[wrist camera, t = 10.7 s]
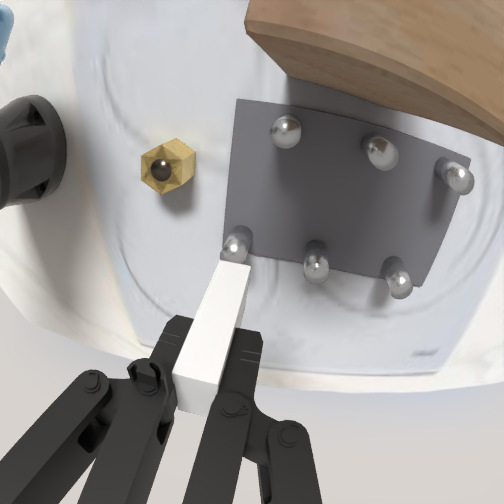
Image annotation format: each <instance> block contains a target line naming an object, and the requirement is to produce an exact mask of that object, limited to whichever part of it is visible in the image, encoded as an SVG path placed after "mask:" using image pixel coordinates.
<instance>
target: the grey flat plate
mask: <svg viewBox="0 0 504 504" xmlns="http://www.w3.org/2000/svg"><path fill="white" fill-rule="evenodd" d="M287 114H289V115H293V116H295V117H297V118H298V119H299V121H300V123H301V127H302V128H301V137H300V140H299V142H298V143H297V144H296V145H295V146H294V147H291V148H287V149H285V148H280V147H278V146H276V145H275V144H274V143H273V142H272V140H271V138H270V128H271V126H272V124H273V123H274V122H275V121H276V120H277V119H278V118H279V117H281V116H283V115H287ZM370 133H375V134H378V135H379V136H381V137H383V138H384V139H386V140H387V141H389V142H390V143H392V144H393V145H394V146H395V147H396V148H397V150H398V154H399V159H398V162H397V164H396V165H395V167H394V168H392V169H390V170H386V171H384V170H380V169H378V168H376V167H375V166H374V165H373V164H372V163H371V161H370V160H369V159H368V158H367V157H366V156H365V155H364V153H363V152H362V150H361V140H362V139H363V137H364V136H365V135H367V134H370ZM441 157H447V158H449V159H451V160H453V161H454V162H456V163H458V164H459V165H461V166H463V167H464V168H466V169H467V170H468V169H469V165H470V162H471V159H470V158H468V157H465V156H463V155H461V154H458V153H456V152H453V151H451V150H448V149H446V148H443V147H441V146H438V145H435V144H433V143H430V142H427V141H424V140H422V139H419V138H416V137H413V136H410V135H407V134H404V133H401V132H398V131H394V130H391V129H388V128H384V127H381V126H378V125H374V124H370V123H367V122H363V121H359V120H355V119H351V118H347V117H343V116H339V115H334V114H330V113H325V112H320V111H315V110H310V109H305V108H299V107H294V106H288V105H282V104H275V103H268V102H261V101H253V100H244V99H237V102H236V110H235V119H234V128H233V137H232V147H231V156H230V166H229V177H228V187H227V198H226V209H225V221H224V233H223V245H222V248H223V246H224V244H225V243H226V241H227V239H228V237H229V235H230V233H231V231H232V229H233V228H234V227H235V226H238V225H244V226H246V227H248V228H249V229H250V230H251V231H252V233H253V239H252V242H251V245H250V247H249V250H248V253H252V254H257V255H262V256H267V257H272V258H277V259H283V260H288V261H293V262H298V263H303V264H304V255H305V246H306V244H307V243H308V242H309V241H311V240H321V241H323V242H324V243H325V244H326V246H327V253H328V264H329V269H334V270H340V271H345V272H350V273H355V274H360V275H366V276H371V277H376V278H381V279H386V277H385V274H384V271H383V267H382V265H383V262H384V261H385V260H386V259H387V258H388V257H390V256H397V257H399V258H400V259H401V260H402V262H403V264H404V267H405V269H406V271H407V273H408V276H409V278H410V280H411V283H412V285H418V286H422V285H423V283H424V281H425V279H426V277H427V275H428V273H429V271H430V268H431V266H432V264H433V262H434V260H435V258H436V255H437V253H438V251H439V248H440V246H441V244H442V241H443V239H444V237H445V234H446V232H447V229H448V227H449V224H450V222H451V219H452V216H453V214H454V211H455V208H456V205H457V203H458V200H459V197H460V195H459V194H457V193H456V192H455V191H454V190H453V189H451V188H450V187H449V186H448V185H446V184H445V183H444V182H443V181H442V180H440V179H439V178H438V177H437V176H436V175H435V172H434V165H435V162H436V161H437V160H438V159H439V158H441Z"/></svg>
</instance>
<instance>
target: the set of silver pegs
mask: <svg viewBox="0 0 504 504" xmlns="http://www.w3.org/2000/svg"><path fill="white" fill-rule="evenodd" d="M301 128H302V127H301V123H300V121H299V119H298V118H297V117H295V116H293V115H289V114H287V115H283V116H281V117H279V118H278V119H277V120H276V121H275V122H274V123H273V124H272V126H271V128H270V138H271V140H272V142H273V143H274V144H275V145H276V146H278V147H280V148H285V149H287V148H291V147H294V146H295V145H296V144H297V143H298V142H299V140H300V137H301ZM361 150H362V152H363V153H364V155H365V156H366V157H367V158H368V159H369V160H370V161H371V163H372V164H373V165H374V166H375V167H376V168H378V169H380V170H384V171H386V170H390V169H392V168H394V167H395V165H396V164H397V162H398V159H399V154H398V150H397V148H396V147H395V146H394V145H393V144H392V143H390V142H389V141H387V140H386V139H384V138H383V137H381V136H379V135H378V134H375V133H370V134H367V135H365V136H364V137H363V139H362V140H361ZM434 172H435V175H436V176H437V177H438V178H439V179H440V180H442V181H443V182H444V183H445V184H446V185H448V186H449V187H450V188H451V189H453V190H454V191H455V192H456V193H457V194H459V195H467V194H469V193H470V192H471V191H472V189H473V187H474V176H473V174H472V173H471V172H470V171H469V170H467V169H466V168H464V167H463V166H461V165H459V164H458V163H456V162H454V161H453V160H451V159H449V158H447V157H441V158H439V159H438V160H437V161H436V162H435V165H434ZM252 239H253V233H252V231H251V230H250V229H249V228H248V227H246V226H244V225H238V226H235V227H234V228H233V229H232V231H231V233H230V235H229V237H228V239H227V241H226V243H225V244H224V246H223V248H222V250H221V252H220V259H221V260H222V261H227V262H232V263H237V264H244V262H245V259H246V256H247V253H248V250H249V247H250V245H251V242H252ZM382 267H383V271H384V274H385V277H386V280H387V283H388V286H389V289H390V292H391V295H392V297H394V298H395V299H404V298H406V297H408V296H409V295H410V294H411V292H412V290H413V285H412V283H411V280H410V278H409V276H408V273H407V271H406V269H405V267H404V264H403V262H402V260H401V259H400V258H399V257H397V256H390V257H388V258H387V259H386V260H385V261H384V262H383V265H382ZM304 277H305V279H306V280H307V281H308V282H309V283H311V284H321V283H324V282H325V281H326V280H327V279H328V277H329V264H328V253H327V246H326V244H325V243H324V242H323V241H321V240H311V241H309V242H308V243H307V244H306V246H305V255H304Z"/></svg>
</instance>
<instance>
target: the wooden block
mask: <svg viewBox="0 0 504 504" xmlns="http://www.w3.org/2000/svg"><path fill="white" fill-rule="evenodd" d="M244 25H245V29H246V34H247V35H248V36H250V37H251V38H252V39H253V40H254V41H255V42H256V43H257V44H258V45H259V46H260V47H261V48H262V49H263V50H264V51H265V52H266V53H267V54H268V55H269V56H270V57H271V58H272V59H273V60H274V61H275V62H276V63H277V65H278V66H279V67H280V68H281V69H282V70H283V71H284V72H285V73H286V74H287V75H288V76H290V77H293V78H297V79H301V80H305V81H308V82H312V83H315V84H319V85H322V86H325V87H329V88H332V89H335V90H338V91H341V92H344V93H347V94H350V95H353V96H356V97H359V98H361V99H364V100H367V101H370V102H372V103H375V104H377V105H380V106H382V107H385V108H388V109H392V110H397V111H401V112H405V113H408V114H412V115H416V116H419V117H423V118H426V119H430V120H433V121H436V122H439V123H442V124H446V125H449V126H452V127H454V128H457V129H460V130H463V131H466V132H468V133H471V134H474V135H476V136H479V137H481V138H484V139H486V140H489V141H491V142H494V143H496V144H498V145H501V146H503V147H504V0H250V1H249V5H248V9H247V12H246V16H245V20H244Z"/></svg>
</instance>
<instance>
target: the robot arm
mask: <svg viewBox="0 0 504 504" xmlns="http://www.w3.org/2000/svg"><path fill="white" fill-rule="evenodd" d="M13 23H14V15H13V12H12V10H11V9H10V8H9V7H7V6H5V5H3V4H0V64H1V62H2V61H3V60H4V59H5V49H6V46H7V43H8V39H9V36H10V33H11V30H12V27H13ZM65 161H66V143H65V136H64V131H63V127H62V124H61V121H60V118H59V116H58V114H57V112H56V110H55V109H54V107H53V106H52V105H51V104H50V103H49V102H48V101H47V100H46V99H45V98H43V97H41V96H38V95H29V96H25V97H21V98H18V99H15V100H13V101H12V102H10V103H9V104H7V105H6V106H5V107H3V108H2V109H0V210H1V209H2V208H4V207H7V206H13V205H19V204H25V203H31V202H36V201H38V200H41V199H42V198H44V197H46V196H47V195H49V194H51V193H52V192H53V191H54V190H55V189H56V188H57V186H58V185H59V183H60V181H61V179H62V176H63V172H64V168H65ZM250 270H251V266H248V265H243V264H237V263H232V262H227V261H222V260H220V261H219V264H218V266H217V268H216V270H215V273H214V275H213V277H212V279H211V282H210V284H209V286H208V289H207V291H206V293H205V295H204V298H203V300H202V302H201V305H200V307H199V309H198V312H197V314H196V316H195V319H192V318H188V317H184V316H180V315H175V316H174V317H173V318H172V319H171V320H169V321H168V322H167V324H166V326H165V328H164V330H163V333H162V334H161V336H160V338H159V341H158V342H157V344H156V346H155V348H154V350H153V352H152V354H151V356H150V358H142V359H137V360H135V361H133V362H132V363H131V364H130V365H129V366H128V367H127V370H128V373H129V376H130V378H129V379H112V378H107V376H106V375H105V374H104V373H103V372H100V371H98V370H88V371H84V372H83V373H82V374H80V375H79V376H78V377H77V378H76V379H75V380H74V381H73V382H72V383H71V384H70V385H69V387H68V388H67V389H66V390H65V391H64V392H63V393H62V394H61V395H60V396H59V397H58V398H57V399H56V400H55V401H54V402H53V403H52V404H51V406H49V408H48V409H47V410H46V411H45V412H44V413H43V414H42V415H41V416H40V417H39V418H38V419H37V421H36V422H35V423H34V424H33V425H32V426H31V427H30V428H29V429H28V430H27V431H26V433H25V434H24V435H23V436H22V437H21V438H20V439H19V440H18V442H17V443H16V444H15V445H14V446H13V447H12V448H11V449H10V451H9V452H8V453H7V454H6V455H5V456H4V457H3V458H2V460H1V461H0V504H59V503H60V501H61V500H62V499H63V498H64V496H65V495H66V494H67V493H68V491H69V490H70V489H71V488H72V487H73V485H74V484H75V483H76V482H77V480H78V479H79V478H80V477H81V475H82V474H83V473H84V472H85V470H86V469H87V468H88V467H89V465H90V464H91V463H92V462H93V461H94V459H95V458H96V460H95V462H94V464H93V466H92V469H91V471H90V473H89V476H88V478H87V481H86V483H85V485H84V488H83V490H82V493H81V495H80V498H79V500H78V503H77V504H146V503H147V500H148V497H149V494H150V491H151V488H152V485H153V482H154V479H155V476H156V473H157V470H158V467H159V464H160V461H161V458H162V455H163V452H164V450H165V446H166V444H167V441H168V438H169V435H170V432H171V429H172V426H173V423H174V412H175V409H176V406H178V409H179V410H181V411H185V412H189V413H193V414H197V415H201V416H205V417H207V421H206V424H205V427H204V431H203V434H202V438H201V442H200V445H199V448H198V452H197V455H196V459H195V462H194V465H193V469H192V472H191V476H190V479H189V483H188V486H187V489H186V493H185V496H184V500H183V503H182V504H232V502H233V498H234V494H235V489H236V484H237V480H238V475H239V470H240V466H241V461H242V456H243V457H245V458H246V459H248V460H250V461H252V462H254V463H257V468H258V477H259V487H260V496H261V504H322V499H321V494H320V489H319V484H318V479H317V473H316V469H315V464H314V459H313V453H312V449H311V444H310V439H309V434H308V432H307V430H306V428H305V427H304V426H302V425H301V424H300V423H298V422H296V421H292V420H284V421H277V420H275V419H273V418H271V417H268V416H267V415H265V414H263V413H262V412H261V411H260V410H259V409H258V408H257V406H256V404H255V401H254V392H255V386H256V381H257V375H258V370H259V364H260V359H261V353H262V347H263V340H262V337H261V334H260V332H256V331H251V330H246V329H241V328H240V325H241V321H242V318H243V314H244V310H245V304H246V297H247V291H248V284H249V277H250Z"/></svg>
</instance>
